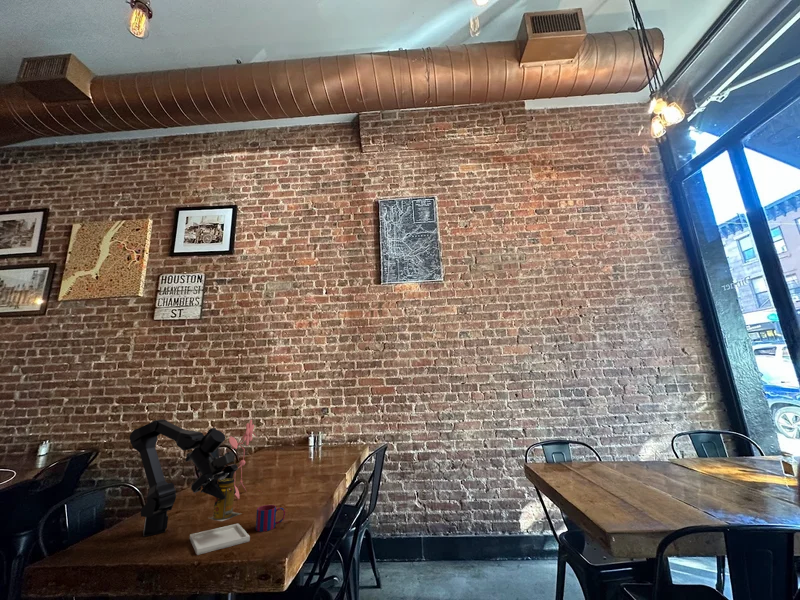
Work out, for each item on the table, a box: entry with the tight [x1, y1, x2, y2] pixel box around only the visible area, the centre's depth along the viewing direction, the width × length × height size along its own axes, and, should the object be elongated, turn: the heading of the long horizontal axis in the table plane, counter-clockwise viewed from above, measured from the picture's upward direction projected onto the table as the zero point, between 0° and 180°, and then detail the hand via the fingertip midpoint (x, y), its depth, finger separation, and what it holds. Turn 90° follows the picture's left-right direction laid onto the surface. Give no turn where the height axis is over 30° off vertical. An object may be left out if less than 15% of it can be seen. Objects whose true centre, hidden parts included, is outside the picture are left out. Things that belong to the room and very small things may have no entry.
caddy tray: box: [189, 523, 251, 556], centre depth 121 cm, size 16×16×2 cm
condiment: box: [208, 478, 243, 522], centre depth 126 cm, size 7×8×12 cm
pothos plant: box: [228, 419, 263, 500], centre depth 176 cm, size 15×26×35 cm, turn 4°
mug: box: [255, 504, 286, 533], centre depth 132 cm, size 7×10×7 cm
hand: (229, 496), depth 126 cm, fingers closed on condiment, 6 cm apart
